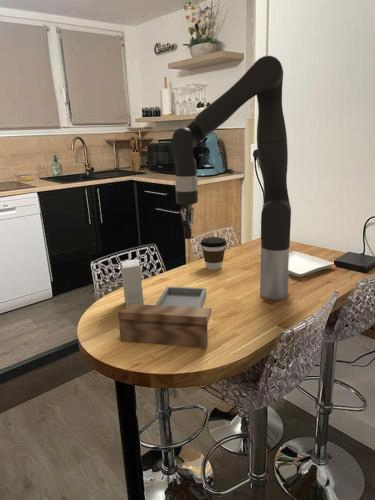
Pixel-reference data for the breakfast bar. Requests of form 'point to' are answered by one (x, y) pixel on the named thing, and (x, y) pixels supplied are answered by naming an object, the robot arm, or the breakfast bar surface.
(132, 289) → the skincare box
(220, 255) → the coffee cup
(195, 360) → the breakfast bar surface
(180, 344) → the walnut cantilever shelf
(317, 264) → the salad plate
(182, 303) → the slate tray
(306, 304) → the breakfast bar surface
